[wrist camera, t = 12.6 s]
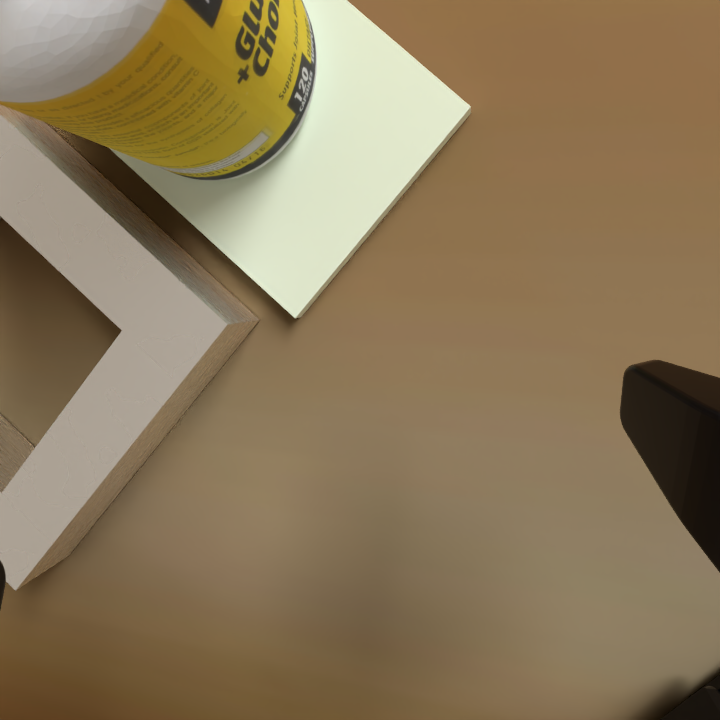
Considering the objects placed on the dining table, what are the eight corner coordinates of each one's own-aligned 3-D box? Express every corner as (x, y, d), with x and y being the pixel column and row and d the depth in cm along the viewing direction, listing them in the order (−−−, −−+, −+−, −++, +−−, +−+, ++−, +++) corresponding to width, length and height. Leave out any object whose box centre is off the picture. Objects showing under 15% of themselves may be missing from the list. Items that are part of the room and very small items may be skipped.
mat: (470, 113, 16) (470, 107, 16) (300, 317, 18) (295, 318, 17) (177, -139, 17) (166, -155, 16) (42, 81, 19) (28, 74, 18)
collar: (259, 319, 18) (227, 324, 16) (68, 555, 21) (15, 590, 19) (6, 86, 19) (-62, 57, 17) (-147, 343, 22) (-225, 350, 19)
